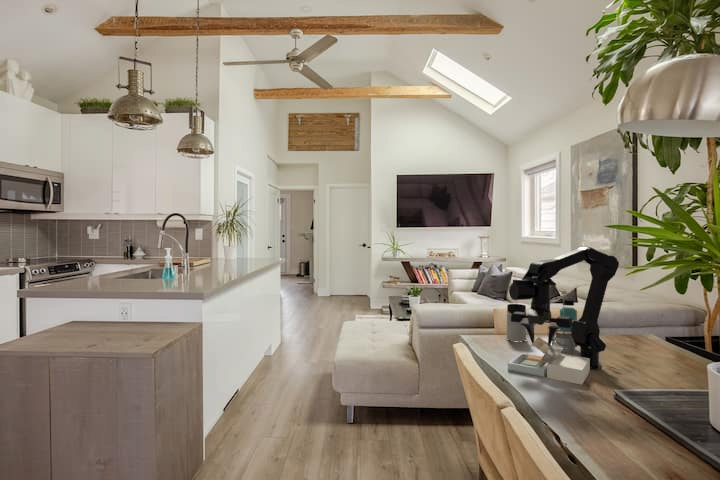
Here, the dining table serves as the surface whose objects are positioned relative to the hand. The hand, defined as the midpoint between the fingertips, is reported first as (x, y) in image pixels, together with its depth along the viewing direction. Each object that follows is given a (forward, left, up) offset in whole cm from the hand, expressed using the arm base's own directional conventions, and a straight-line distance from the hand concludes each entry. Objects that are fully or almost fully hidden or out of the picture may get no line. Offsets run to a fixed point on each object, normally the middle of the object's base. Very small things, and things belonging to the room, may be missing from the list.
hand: (541, 344), depth 143 cm
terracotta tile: (-4, -3, -6) cm, 7 cm away
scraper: (0, +5, -3) cm, 6 cm away
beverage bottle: (-33, +3, -9) cm, 34 cm away
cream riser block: (0, +9, -9) cm, 12 cm away
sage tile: (+4, -2, -6) cm, 7 cm away
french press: (-20, +3, -9) cm, 22 cm away
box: (0, -3, -9) cm, 9 cm away
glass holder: (-38, -16, -9) cm, 42 cm away
